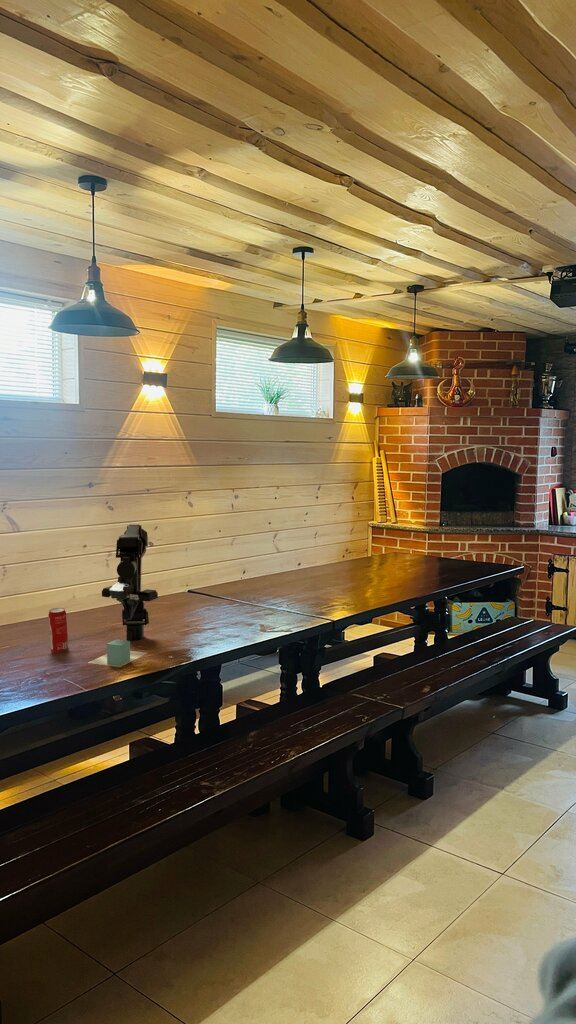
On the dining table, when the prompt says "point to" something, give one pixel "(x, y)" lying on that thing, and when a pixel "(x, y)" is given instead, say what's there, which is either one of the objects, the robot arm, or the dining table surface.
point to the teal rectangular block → (118, 652)
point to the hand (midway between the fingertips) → (129, 618)
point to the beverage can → (58, 630)
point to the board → (103, 661)
